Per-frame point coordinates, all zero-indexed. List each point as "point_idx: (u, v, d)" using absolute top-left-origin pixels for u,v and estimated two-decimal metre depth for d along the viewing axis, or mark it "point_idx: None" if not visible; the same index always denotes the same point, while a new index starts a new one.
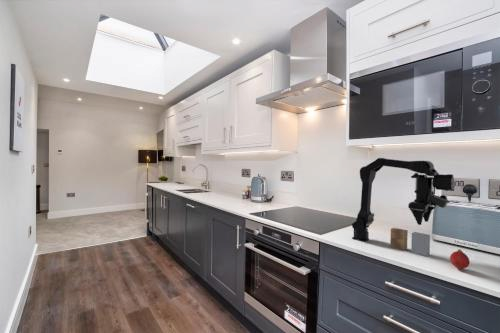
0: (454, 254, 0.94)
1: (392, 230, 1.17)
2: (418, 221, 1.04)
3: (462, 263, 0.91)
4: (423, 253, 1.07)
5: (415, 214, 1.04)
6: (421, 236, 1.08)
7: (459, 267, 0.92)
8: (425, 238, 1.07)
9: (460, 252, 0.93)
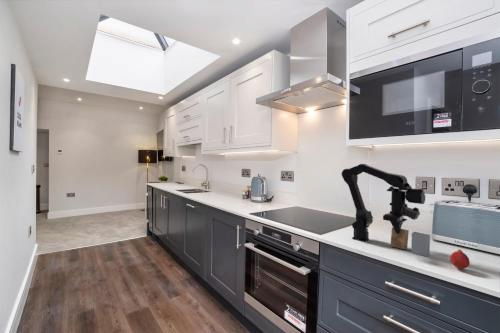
0: (454, 254, 0.94)
1: (393, 229, 1.18)
2: (396, 230, 1.15)
3: (462, 263, 0.91)
4: (423, 253, 1.07)
5: (393, 224, 1.15)
6: (421, 236, 1.08)
7: (459, 267, 0.92)
8: (425, 238, 1.07)
9: (460, 252, 0.93)
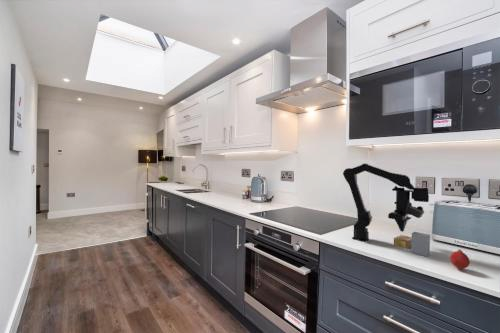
0: (454, 254, 0.94)
1: (402, 235, 1.25)
2: (400, 228, 1.19)
3: (462, 263, 0.91)
4: (423, 253, 1.07)
5: (398, 222, 1.19)
6: (421, 236, 1.08)
7: (459, 267, 0.92)
8: (425, 238, 1.07)
9: (460, 252, 0.93)
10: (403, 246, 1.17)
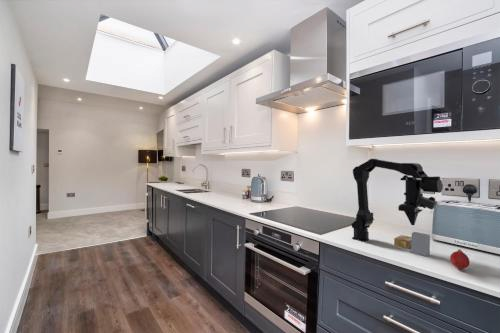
0: (454, 254, 0.94)
1: (402, 235, 1.25)
2: (411, 221, 1.08)
3: (462, 263, 0.91)
4: (423, 253, 1.07)
5: (408, 215, 1.08)
6: (421, 236, 1.08)
7: (459, 267, 0.92)
8: (425, 238, 1.07)
9: (460, 252, 0.93)
10: (404, 246, 1.17)
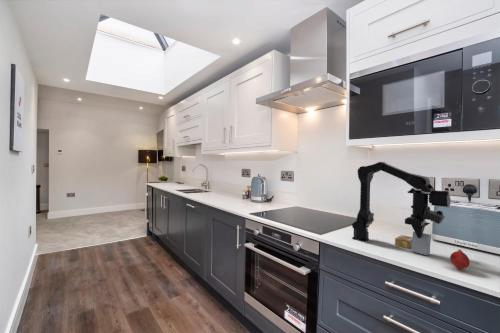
0: (454, 254, 0.94)
1: (403, 235, 1.25)
2: (418, 234, 1.08)
3: (462, 263, 0.91)
4: (423, 252, 1.07)
5: (415, 228, 1.08)
6: (422, 234, 1.09)
7: (459, 267, 0.92)
8: (426, 236, 1.07)
9: (460, 252, 0.93)
10: (405, 246, 1.17)
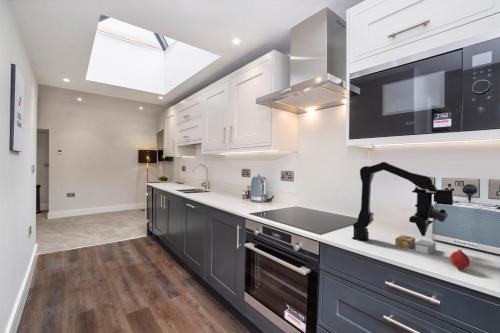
0: (454, 254, 0.94)
1: (403, 235, 1.25)
2: (422, 232, 1.12)
3: (462, 263, 0.91)
4: (427, 245, 1.10)
5: (419, 226, 1.12)
6: (429, 241, 1.16)
7: (459, 267, 0.92)
8: (433, 242, 1.14)
9: (460, 252, 0.93)
10: (405, 246, 1.17)
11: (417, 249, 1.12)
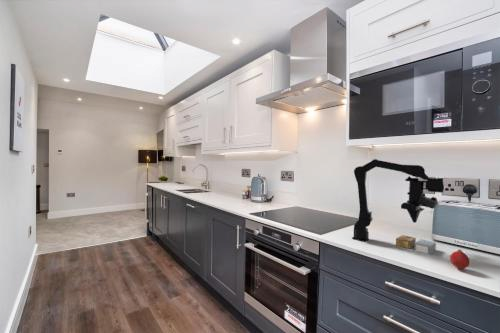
0: (454, 254, 0.94)
1: (403, 235, 1.25)
2: (413, 219, 1.17)
3: (462, 263, 0.91)
4: (427, 245, 1.10)
5: (410, 213, 1.17)
6: (429, 241, 1.16)
7: (459, 267, 0.92)
8: (433, 242, 1.14)
9: (460, 252, 0.93)
10: (406, 246, 1.17)
11: (417, 249, 1.12)
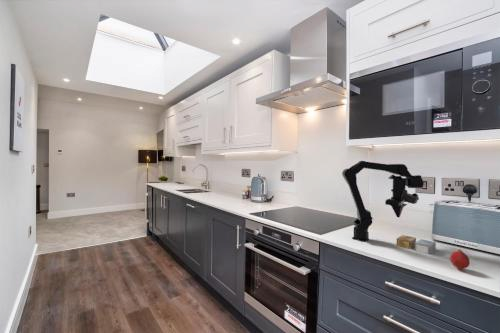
0: (454, 254, 0.94)
1: (403, 235, 1.25)
2: (397, 214, 1.26)
3: (462, 263, 0.91)
4: (427, 245, 1.10)
5: (394, 208, 1.26)
6: (430, 241, 1.16)
7: (459, 267, 0.92)
8: (433, 242, 1.14)
9: (460, 252, 0.93)
10: (406, 246, 1.17)
11: (417, 249, 1.13)
